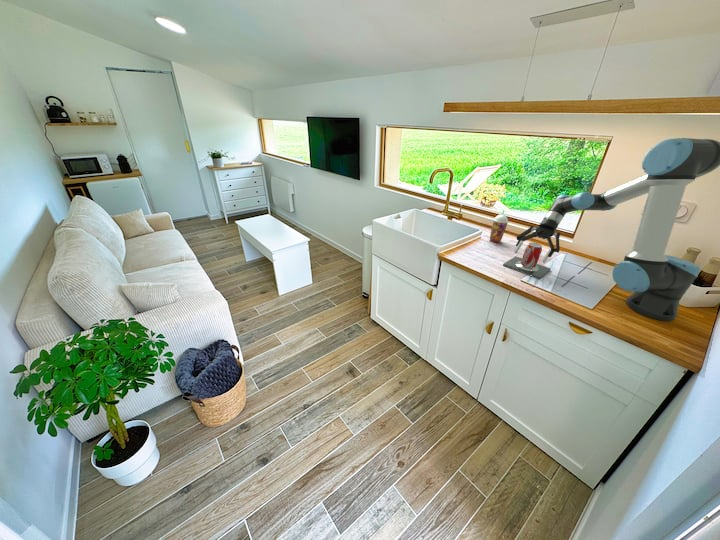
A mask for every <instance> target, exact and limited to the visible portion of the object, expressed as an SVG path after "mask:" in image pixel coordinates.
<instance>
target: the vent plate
mask: <svg viewBox="0 0 720 540" xmlns="http://www.w3.org/2000/svg"><path fill="white" fill-rule="evenodd" d="M522 258H523V257H522ZM522 258H521V257H520V256H517V255H516V256H514V257H512V258H510V259H509V260H507V261H506V262H504V263H503V264H502V266H504V267H505V268H506V267H507V268H509V269H512V270H513V271H517V272H519V273H522V274H524V275H527V276H530V275H532V276H533V278H535V279H538V280H540V279H542V278H543V277H544V276H545V275H546V274H548V273H549V272H550V271H551V270H552V268H551V267H548V266H545V265H542V264H539V263H537V265H536V266H535V267H534V268H526V267H524V266H523V265H522V264H521V261H522ZM532 276H531V277H532Z"/></svg>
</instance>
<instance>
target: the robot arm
mask: <svg viewBox="0 0 720 540" xmlns="http://www.w3.org/2000/svg"><path fill="white" fill-rule="evenodd" d="M719 167H720V141H718V140H715V139H709V138H704V139H703V138H689V137H688V138H687V137H677V138H668V139H665V140H662V141H660V142H658V143H657V144H655V145H654V146H653V147H651V148H650V149H649V150H648V151H647V152H646V153H645V155H644V157H643V159H642V162H641V168H642V170H643V172H644V173H645V174H644V175H641V176H639V177H638V176H637V177H636V178H634V179H632V180H630V181H627V182H626V183H623V184H621V185H618V186H616V187H614V188H611V189H609V190H607V191H604V192H602V193H598V194H597V193H595V194H593V193H591V192H590V191H584V192H578V193H576V194H573V195H571V196H570V195H569V194H560V195H558V196H557V197H556V198H555V199H554V200H553V202H552V204H551V206H550V208H549V209H548V210H547V212H546V213H545V216H544V217H543V219H542V221H541V222H540V223H539V225H538V226H537V227H536V226H534V225H532V224H531V225H530V227H528V229H526V230H525V231H523V232H521V233H519V234H518V235H517V236H516V240H517V243H516V244H515V245H516V248H515V249H514V254H517V253H518V252H519V250H520V249H521V247H522V245H523V244H524V242H526V241H528V240H531V239H534V238H539V239H543V240H546V241H547V243H548V245H549V249H548V251H547V252H546V254H545V256H544V257H543V259H542V263H546V262H547V260H548V258H552V256H553V255H554V253H560V247H561V246H560V237H561V232H556V230H557V229H558V227H559V225H560V224H561V222H562V220H563V219H564V217H565V215H566V214H568V213H572V212H576V211H601V212H604V211H611V210H613V209H615V208H616V207H617V206H618V205H620V204H622V203H626V202H628V201H630V200H633V199H636V198H639V197H641V196H644V195H646V194H647V198H646V200H645V204H644V206H643V211H642V215H641V217H640V220H639V221H640V222H639V224H638V228H637V232H636V235H635V240H634V243H633V246H632V250H631V251H629V252H628V253H625V254H624V259H623V261H620V262H618V263H617V264H615V265H614V267H613V268H612V272H611V276H612V279H613V281H614V283H616V286H617V287H618V288H620V289H622V290H623V291H626V292H633V293H631V294H630V296H628V298H626V300H625V303H626V306H628V308H629V309H631V310H633V311H634V312H636V313H638V314H640V315H642V316H644V317H647V318H650V319H653V320H657V321H663V322H671V321H674V320H675V318H676V317H677V315H678V314H679V306H680V301H681V300H682V298H683V297H684V295H685V294H686V292H687V291H688V290H689V289H690V288H691V286H692V285H693V283H694V282H695V280H696V279H697V278H698V277H699V276H698V275H699V274H700V272H702V271H701V270H702V269H701V267H700V266H699V265H698V264H696V263H694V262H692V261H689V260H686V259H683V258H682V257H678V256H672V255H669V254H665V253H666V250H667V248H668V244H669V240H670V237H671V234H672V232H673V228H674V224H675V222H676V218H677V216H678V213H679V210H680V206H681V203H682V201H683V200H682V199H683V197H684V194H685V190H686V188H687V186H688V185H689V184H692V183H693V182H695V180H696V179H697V178H700V177H702V176H705V175H708V174H709V173H711V172H713V171H714V170H716V169H718V168H719ZM553 236H554V238H555V246H554V243H553V240H552V239H551V238H552V237H553ZM555 247H556V248H555Z"/></svg>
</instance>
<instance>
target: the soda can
mask: <svg viewBox="0 0 720 540" xmlns="http://www.w3.org/2000/svg"><path fill="white" fill-rule="evenodd" d="M542 251H543V245H541V244H540V243H538V242H529V243H528V244H527V245H526V246H525V249H524V252H523V255H522V261H521V264H522V265H523V266H524V267H526V268H534V267H535V266H536V265H537V264H538V262H539V259H540V257H541V255H542Z"/></svg>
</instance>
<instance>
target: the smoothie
mask: <svg viewBox="0 0 720 540" xmlns="http://www.w3.org/2000/svg"><path fill="white" fill-rule="evenodd" d="M508 219H509V218H508V217H507V215H505V209H502V213H501V214H498V215H496V216H495V217H494V218H493V219H492V221H493V222H492V225H491V230H490V235H489V240H490V242H492V243H496V244H497V243H500V242H501V241H502V239H503V236H504V234H505V232H506V228H507V226H508V224H509V220H508Z"/></svg>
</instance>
